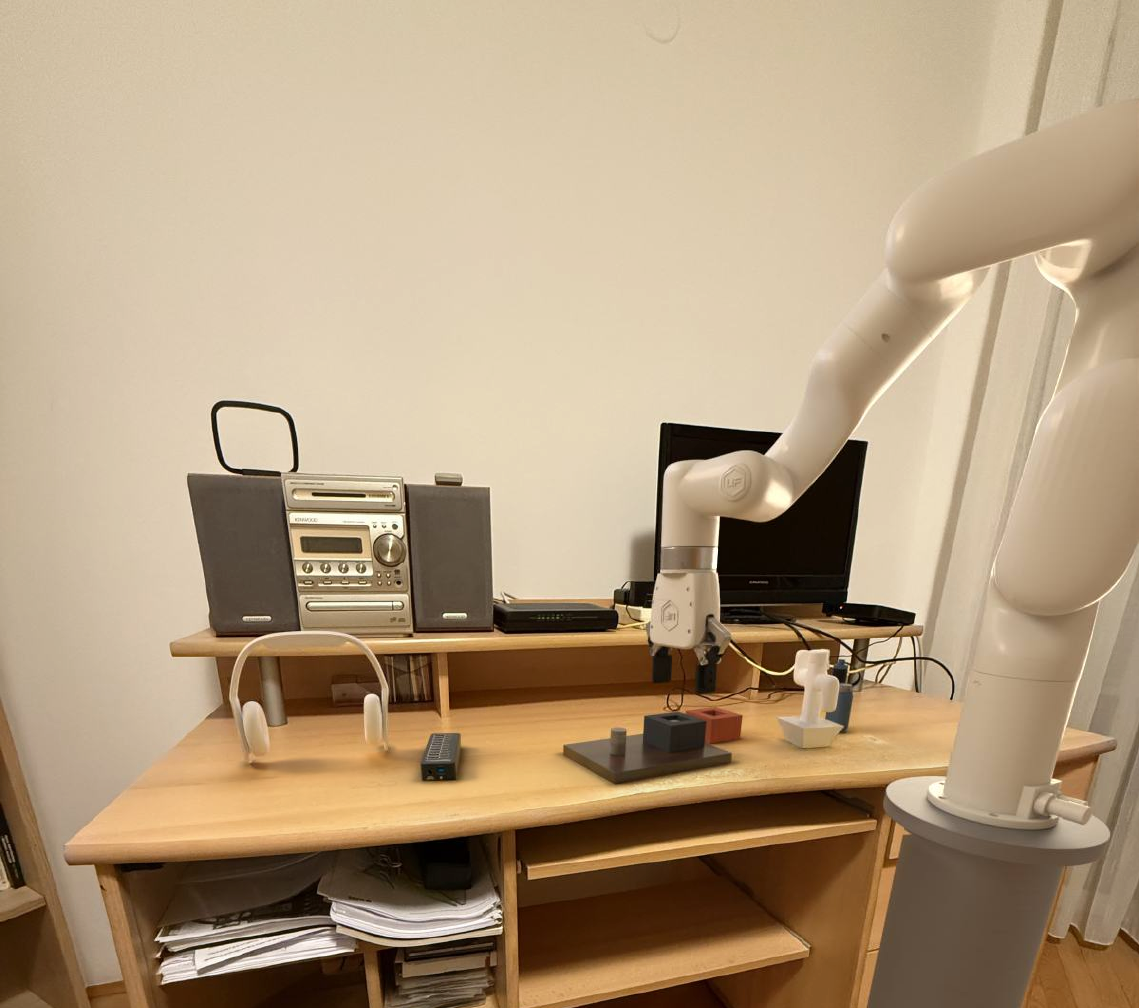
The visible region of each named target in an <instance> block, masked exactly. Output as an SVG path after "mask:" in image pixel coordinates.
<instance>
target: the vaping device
mask: <svg viewBox="0 0 1139 1008" xmlns="http://www.w3.org/2000/svg"><path fill="white" fill-rule="evenodd" d="M848 671H849V665H848V664H846V659H844V658H839V659H838V661H837V663H834V664H833V666H832V675H831V676H834V677H836V678H837V679H838V680H839V694H838V700H837V706H836V709H835V711H833V712H825V717H824V719H826V720H829V721H832V722H834V723H837V724H840V725H842V726H844V727H843V728H842V729H841V731H840V732H839V733H838V734H840V733H841V734H844V733H846V732H847V730H848V729H849V725H850V718H851V713H852V706H853V702H854V701H853V700H854V694H853V693H854V690H853V684H850V683H847V678H848Z"/></svg>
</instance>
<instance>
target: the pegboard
mask: <svg viewBox="0 0 1139 1008" xmlns="http://www.w3.org/2000/svg"><path fill="white" fill-rule="evenodd" d="M670 721H672V722H678V721H679V720H670ZM627 732H628V731H627V728H625V727H619V726H617V727H612V728H610V738H603V739H596V740H588V741H582V742H581V741H580V742H574V743H568V744H563V745H562V755H564V756H565V757H567V758H569V759H571V760H572V761H574V762H576V763H577V764H579V765H580V766H582V767H584V768H586V769H588V770H590V771H591V772H592V773H595V774H596V775H598V776H600V777H601V778H603V779H605V780H607V781H609V782H610V783H612V784H613V785H616V784H617V785H618V784H622V783H628V782H632V781H638V780H644V779H649V778H650V779H651V778H655V777H659V776H666V775H669V774H670V775H671V774H676V773H681V772H686V771H687V772H688V771H692V770H693V771H694V770H698V769H704V768H709V767H714V766H719V765H720V766H721V765H725V764H731V763H732V755H733V753H732V752H731V751H728V750H726V749H723V748H720V747H718V746H715V745H712V744H710V743H707V742H705V745H704V747H702V748H695V749H690V750H684V751H678V752H672V753H668V752H666V751H664V750H661V749H659V748H657V747H655V746H652V745H650V744H648V743H646V742H643V733H637V734H631V735H627Z"/></svg>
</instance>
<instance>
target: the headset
mask: <svg viewBox="0 0 1139 1008" xmlns="http://www.w3.org/2000/svg"><path fill="white" fill-rule="evenodd" d="M347 643H350V644H351V645H354V646H356V647H357V648H358V649H360V650H361V651H362V652H363V653H364V654H365V656H366V657H367V658H368V660H369V661H370V663H371V665H372V667H373V669H374V671H375V673H376V676H377V678H378V681H379V683H380V686H381V699H380V697H379V696H378V695H377V694H375V693H369V694H366V696H365V697H364V698H363V699H364V700H363V723H364V725H363V727H364V739H365V743H366V744H367V745H368V746H370V747H377V746H379V745H380V744H381V740H382V742H383V746H384V750H385V751H389V707H388V706H389V691H390V689H389V686H388V685H389V684H388V682H387V680H386V677H385V674H384V672H383V669H382V667H381V664H380V663H379V661H378V659H377V657H376V655H375V654H374V652H373V651H372V650H371V649H370V647H369V646H368V645H367V644H366V643H365V642H364V641H362V640H361V639H359V638H357V637H356V636H353V635H351V634H348V633H344V632H339V631H328V630H299V631H284V632H275V633H274V632H273V633H270V634H265V635H262V636H259V637H257V638H255V639H253V640H251V641H249V643H247V644H246V645H245V646H244V647H243V649H242V650H241V651H240V653H239V654H238V656H237V658H236V661H235V664H234V666H233V670H232V674H231V679H230V686H229V694H228V695H229V696H228V699H229V702H230V706H231V711H232V716H233V718H234V722H235V727H236V731H237V734H238V738H239V743H240V747H241V750H242V753H243V758H244V761H245V763H246V764H252V755H251V753H252V754H253V756H256V757H264V756H267V754H269V752H270V749H271V741H270V732H269V727H268V724H267V719H266V715H265V712H264V709H263V708H262V706H261V704H259V703H258V702H257V701H253V700H252V701H247V702H245V703H243V704H244V705H243V706H242V707H241V703H240V699H239V697H238V691H239V683H240V679H241V673H242V670H243V666H244V664H245V661H246V659H247V658H248V656H249V655H250V654H251V652H253V651H254V650H255V649H256V648H258V647H260V646H262V645H263V647H264V648H266V649H267V650H269V651H289V650H297V649H313V648H314V649H315V648H330V649H331V648H333V649H334V648H336V649H337V648H341V647H343V646H345V644H347ZM380 700H381V701H380Z"/></svg>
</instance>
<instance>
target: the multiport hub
mask: <svg viewBox="0 0 1139 1008" xmlns="http://www.w3.org/2000/svg"><path fill="white" fill-rule="evenodd" d="M461 751H462V734H461V733H459V732H439V733H438V732H434V733H433V732H432V733H430V736H429V738H428V741H427V744H426V747H425V750H424V753H423V756H422V758H421V761H420V777H421V781H425V782H427V781H428V782H429V781H456V780H457V776H458V771H459V763H460V757H461Z"/></svg>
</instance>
